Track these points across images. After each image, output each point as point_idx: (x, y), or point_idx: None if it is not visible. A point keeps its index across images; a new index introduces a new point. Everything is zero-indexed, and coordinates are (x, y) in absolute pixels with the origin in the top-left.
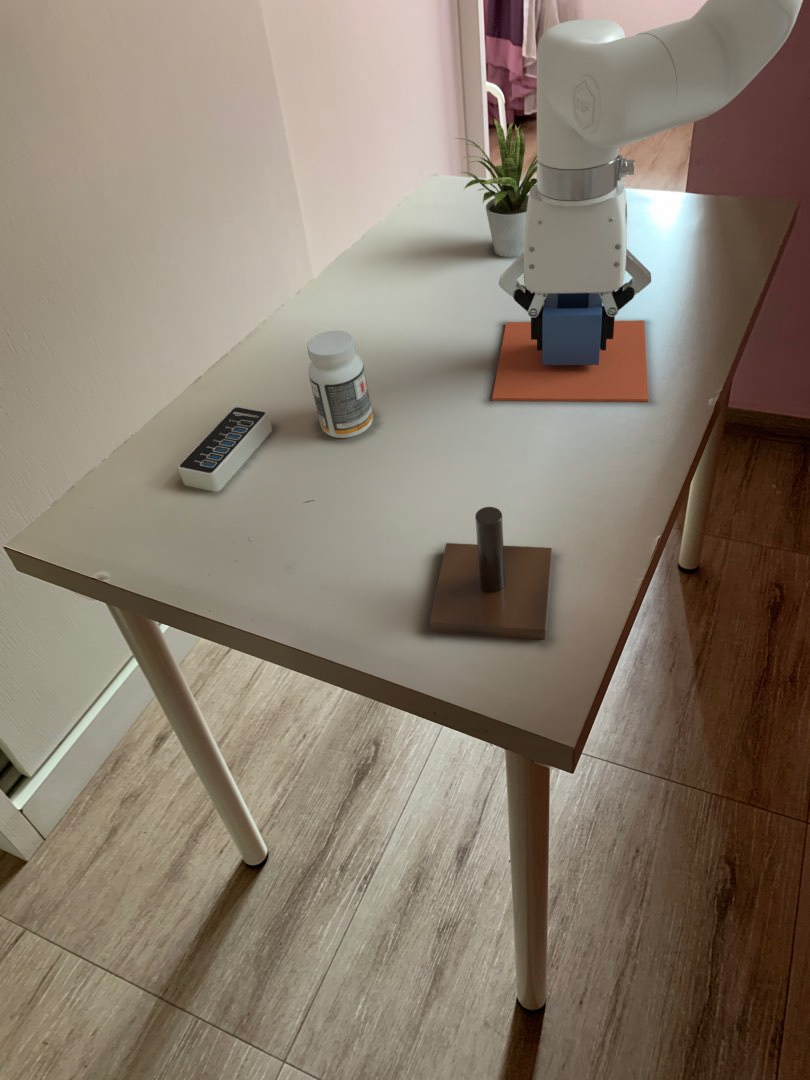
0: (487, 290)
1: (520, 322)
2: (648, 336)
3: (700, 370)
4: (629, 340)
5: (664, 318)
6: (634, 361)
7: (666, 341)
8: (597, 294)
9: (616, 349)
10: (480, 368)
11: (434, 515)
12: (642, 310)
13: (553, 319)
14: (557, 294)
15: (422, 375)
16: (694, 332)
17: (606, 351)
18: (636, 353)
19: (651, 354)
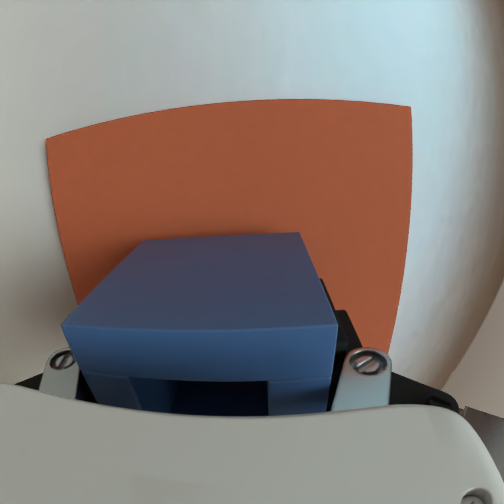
0: (17, 11)
1: (73, 134)
2: (415, 172)
3: (472, 303)
4: (375, 211)
5: (446, 90)
6: (376, 302)
7: (447, 198)
8: (308, 390)
9: (341, 255)
10: (61, 316)
11: None
12: (397, 41)
13: None
14: (126, 382)
15: (6, 327)
16: (492, 164)
17: (316, 267)
18: (385, 272)
19: (413, 255)
